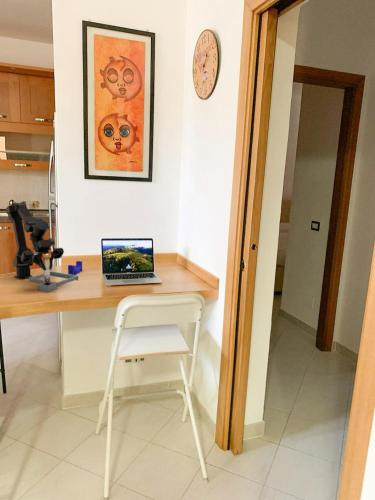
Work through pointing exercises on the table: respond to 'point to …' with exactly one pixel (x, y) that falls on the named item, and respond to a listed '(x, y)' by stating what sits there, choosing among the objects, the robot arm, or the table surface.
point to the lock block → (47, 287)
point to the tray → (56, 274)
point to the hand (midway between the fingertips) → (48, 269)
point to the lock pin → (46, 266)
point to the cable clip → (75, 268)
